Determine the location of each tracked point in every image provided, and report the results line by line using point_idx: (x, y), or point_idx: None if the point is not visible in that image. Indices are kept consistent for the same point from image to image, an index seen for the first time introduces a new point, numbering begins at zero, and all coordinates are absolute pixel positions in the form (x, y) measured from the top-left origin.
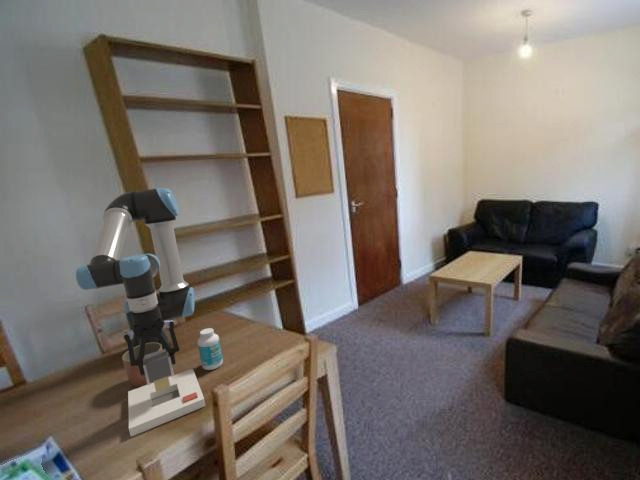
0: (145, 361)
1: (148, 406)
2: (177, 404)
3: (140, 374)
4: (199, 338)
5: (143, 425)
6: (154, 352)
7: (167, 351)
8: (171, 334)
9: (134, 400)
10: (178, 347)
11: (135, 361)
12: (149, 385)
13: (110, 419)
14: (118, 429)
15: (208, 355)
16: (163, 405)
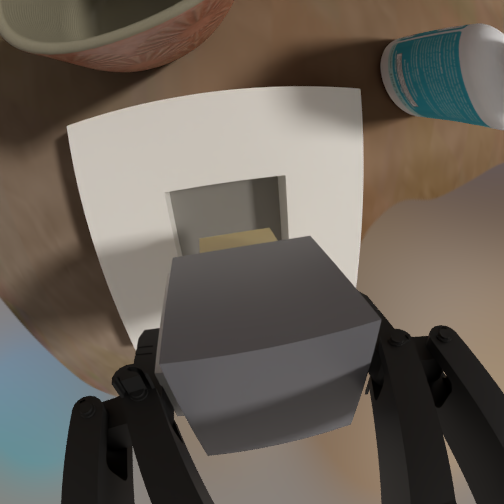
0: (202, 440)
1: None
2: None
3: (105, 68)
4: (488, 50)
5: None
6: (271, 353)
7: (374, 413)
8: (475, 484)
9: (106, 214)
10: (440, 384)
11: (127, 445)
12: (155, 117)
13: (49, 232)
14: (93, 295)
15: (448, 116)
16: None
